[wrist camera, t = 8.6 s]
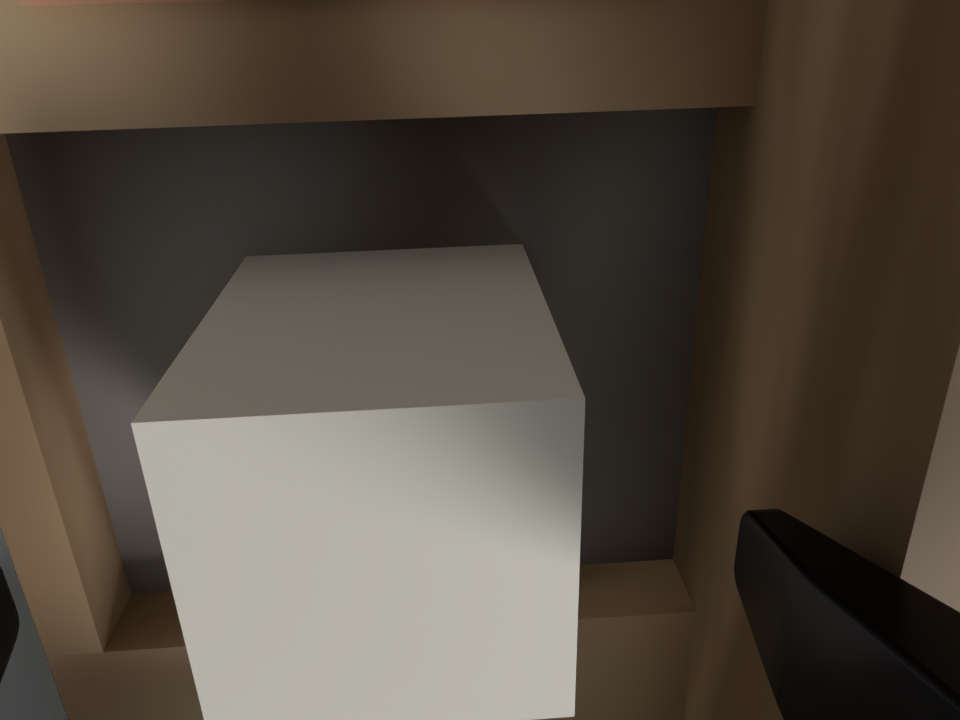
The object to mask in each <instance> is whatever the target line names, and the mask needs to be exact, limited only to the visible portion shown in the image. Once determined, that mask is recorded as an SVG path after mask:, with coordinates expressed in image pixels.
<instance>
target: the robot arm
mask: <svg viewBox="0 0 960 720" xmlns="http://www.w3.org/2000/svg"><path fill="white" fill-rule="evenodd" d="M734 578H735V583H736V587H737V590H738V593H739V596H740V599H741V602H742V605H743V608H744V611H745V614H746V617H747V619H748V622H749V625H750V628H751V631H752V634H753V637H754V640H755V643H756V646H757V649H758V652H759V655H760V658H761V661H762V664H763V667H764V670H765V673H766V676H767V679H768V681H769V684H770V687H771V690H772V693H773V695H774V698H775V701H776V703H777V706H778V708H779V710H780V713H781V715H782V717H783V720H960V612H959V611H957V610H955V609H953V608H952V607H950V606H948V605H946V604H945V603H943V602H941V601H939V600H938V599H936V598H934V597H933V596H931V595H929V594H927V593H926V592H924V591H922V590H920V589H919V588H917V587H915V586H913V585H912V584H910V583H908V582H906V581H905V580H903V579H901V578H899V577H898V576H896V575H894V574H892V573H891V572H889V571H887V570H885V569H884V568H882V567H880V566H878V565H877V564H875V563H873V562H871V561H870V560H868V559H866V558H864V557H863V556H861V555H859V554H858V553H856V552H854V551H852V550H851V549H849V548H847V547H845V546H844V545H842V544H840V543H838V542H837V541H835V540H833V539H831V538H830V537H828V536H826V535H824V534H823V533H821V532H819V531H817V530H816V529H814V528H812V527H810V526H809V525H807V524H805V523H803V522H802V521H800V520H798V519H796V518H795V517H793V516H791V515H789V514H788V513H786V512H784V511H782V510H780V509H775V508H772V509H757V510H748V511H746V512H745V513H744V514H743V515H742V517H741V520H740V525H739V532H738V539H737V546H736V554H735V561H734ZM18 630H19V616H18V612H17V609H16V606H15V604H14V601H13V598H12V595H11V593H10V590H9V587H8V584H7V582H6V579H5V576H4V573H3V571H2V569H1V567H0V683H1V680H2V677H3V675H4V672H5V669H6V666H7V664H8V661H9V658H10V655H11V653H12V650H13V647H14V644H15V642H16V639H17V635H18Z"/></svg>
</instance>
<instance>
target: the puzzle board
mask: <svg viewBox="0 0 960 720" xmlns="http://www.w3.org/2000/svg"><path fill="white" fill-rule="evenodd" d="M509 244H523V247H524V249H525V251H526V254H527V256H528V259H529V261H530V264H531V266H532V269H533V271H534V274H535V276H536V278H537V281H538V283H539V286H540V288H541V291H542V293H543V296H544V298H545V300H546V303H547V305H548V308H549V310H550V313H551V315H552V318H553V320H554V323H555V325H556V327H557V330H558V332H559V335H560V337H561V340H562V342H563V345H564V347H565V349H566V352H567V354H568V357H569V359H570V362H571V364H572V367H573V369H574V372H575V374H576V376H577V379H578V381H579V384H580V386H581V389H582V391H583V394H584V396H585V424H584V453H583V482H582V511H581V541H580V570H579V599H578V628H577V658H576V687H575V716H574V717H562V718H549V719H536V720H783V717H782V715H781V713H780V710H779V708H778V706H777V703H776V701H775V698H774V695H773V693H772V690H771V687H770V684H769V681H768V679H767V676H766V673H765V670H764V667H763V664H762V661H761V658H760V655H759V652H758V649H757V646H756V643H755V640H754V637H753V634H752V631H751V628H750V625H749V622H748V619H747V617H746V614H745V611H744V608H743V605H742V602H741V599H740V596H739V593H738V590H737V587H736V583H735V578H734V561H735V554H736V546H737V539H738V532H739V525H740V520H741V517H742V515H743V514H744V513H745V512H746V511H748V510H757V509H772V508H775V509H780V510H782V511H784V512H786V513H788V514H789V515H791V516H793V517H795V518H796V519H798V520H800V521H802V522H803V523H805V524H807V525H809V526H810V527H812V528H814V529H816V530H817V531H819V532H821V533H823V534H824V535H826V536H828V537H830V538H831V539H833V540H835V541H837V542H838V543H840V544H842V545H844V546H845V547H847V548H849V549H851V550H852V551H854V552H856V553H858V554H859V555H861V556H863V557H864V558H866V559H868V560H870V561H871V562H873V563H875V564H877V565H878V566H880V567H882V568H884V569H885V570H887V571H889V572H891V573H892V574H894V575H896V576H898V577H899V578H901V579H903V580H905V581H906V582H908V583H910V584H912V585H913V586H915V587H917V588H919V589H920V590H922V591H924V592H926V593H927V594H929V595H931V596H933V597H934V598H936V599H938V600H939V601H941V602H943V603H945V604H946V605H948V606H950V607H952V608H953V609H955V610H957V611H959V612H960V0H0V527H1V529H2V532H3V535H4V538H5V541H6V544H7V547H8V549H9V552H10V555H11V558H12V561H13V564H14V567H15V569H16V572H17V575H18V578H19V581H20V584H21V587H22V589H23V592H24V595H25V598H26V601H27V604H28V607H29V609H30V612H31V615H32V618H33V621H34V624H35V627H36V629H37V632H38V635H39V638H40V641H41V644H42V647H43V649H44V652H45V655H46V658H47V661H48V664H49V666H50V669H51V672H52V675H53V678H54V681H55V684H56V686H57V689H58V692H59V695H60V698H61V701H62V704H63V706H64V709H65V712H66V715H67V718H68V720H204V718H203V714H202V710H201V706H200V702H199V697H198V693H197V689H196V685H195V681H194V677H193V673H192V669H191V665H190V661H189V657H188V653H187V649H186V645H185V641H184V637H183V633H182V629H181V625H180V621H179V617H178V612H177V608H176V604H175V600H174V596H173V592H172V588H171V584H170V580H169V576H168V572H167V568H166V564H165V560H164V556H163V552H162V548H161V544H160V540H159V536H158V532H157V527H156V523H155V519H154V515H153V511H152V507H151V503H150V499H149V495H148V491H147V487H146V483H145V479H144V475H143V471H142V467H141V463H140V459H139V455H138V451H137V447H136V442H135V438H134V434H133V430H132V426H131V422H132V421H133V419H134V418H135V416H136V415H137V413H138V412H139V410H140V409H141V408H142V406H143V405H144V403H145V402H146V400H147V399H148V397H149V396H150V395H151V393H152V392H153V390H154V389H155V387H156V386H157V384H158V383H159V382H160V380H161V379H162V377H163V376H164V374H165V373H166V371H167V370H168V369H169V367H170V366H171V364H172V363H173V361H174V360H175V358H176V357H177V356H178V354H179V353H180V351H181V350H182V348H183V347H184V345H185V344H186V343H187V341H188V340H189V338H190V337H191V335H192V334H193V333H194V331H195V330H196V328H197V327H198V325H199V324H200V322H201V321H202V320H203V318H204V317H205V315H206V314H207V312H208V311H209V309H210V308H211V307H212V305H213V304H214V302H215V301H216V299H217V298H218V296H219V295H220V294H221V292H222V291H223V289H224V288H225V286H226V285H227V283H228V282H229V281H230V279H231V278H232V276H233V275H234V273H235V272H236V270H237V269H238V268H239V266H240V265H241V263H242V262H243V260H244V259H245V257H246V256H264V255H287V254H309V253H331V252H353V251H376V250H398V249H420V248H442V247H465V246H487V245H509Z"/></svg>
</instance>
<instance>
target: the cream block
mask: <svg viewBox="0 0 960 720" xmlns="http://www.w3.org/2000/svg"><path fill="white" fill-rule="evenodd" d="M584 424H585V396H584V394H583V391H582V389H581V386H580V384H579V381H578V379H577V376H576V374H575V372H574V369H573V367H572V364H571V362H570V359H569V357H568V354H567V352H566V349H565V347H564V345H563V342H562V340H561V337H560V335H559V332H558V330H557V327H556V325H555V323H554V320H553V318H552V315H551V313H550V310H549V308H548V305H547V303H546V300H545V298H544V296H543V293H542V291H541V288H540V286H539V283H538V281H537V278H536V276H535V274H534V271H533V269H532V266H531V264H530V261H529V259H528V256H527V254H526V251H525V249H524V247H523V244H509V245H487V246H465V247H442V248H420V249H398V250H376V251H353V252H331V253H309V254H287V255H264V256H246V257H245V259H244V260H243V262H242V263H241V265H240V266H239V268H238V269H237V270H236V272H235V273H234V275H233V276H232V278H231V279H230V281H229V282H228V283H227V285H226V286H225V288H224V289H223V291H222V292H221V294H220V295H219V296H218V298H217V299H216V301H215V302H214V304H213V305H212V307H211V308H210V309H209V311H208V312H207V314H206V315H205V317H204V318H203V320H202V321H201V322H200V324H199V325H198V327H197V328H196V330H195V331H194V333H193V334H192V335H191V337H190V338H189V340H188V341H187V343H186V344H185V345H184V347H183V348H182V350H181V351H180V353H179V354H178V356H177V357H176V358H175V360H174V361H173V363H172V364H171V366H170V367H169V369H168V370H167V371H166V373H165V374H164V376H163V377H162V379H161V380H160V382H159V383H158V384H157V386H156V387H155V389H154V390H153V392H152V393H151V395H150V396H149V397H148V399H147V400H146V402H145V403H144V405H143V406H142V408H141V409H140V410H139V412H138V413H137V415H136V416H135V418H134V419H133V421H132V422H131V426H132V430H133V434H134V438H135V442H136V447H137V451H138V455H139V459H140V463H141V467H142V471H143V475H144V479H145V483H146V487H147V491H148V495H149V499H150V503H151V507H152V511H153V515H154V519H155V523H156V527H157V532H158V536H159V540H160V544H161V548H162V552H163V556H164V560H165V564H166V568H167V572H168V576H169V580H170V584H171V588H172V592H173V596H174V600H175V604H176V608H177V612H178V617H179V621H180V625H181V629H182V633H183V637H184V641H185V645H186V649H187V653H188V657H189V661H190V665H191V669H192V673H193V677H194V681H195V685H196V689H197V693H198V697H199V702H200V706H201V710H202V714H203V718H204V720H536V719H549V718H562V717H574V716H575V687H576V658H577V628H578V599H579V570H580V541H581V511H582V482H583V453H584Z"/></svg>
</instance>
